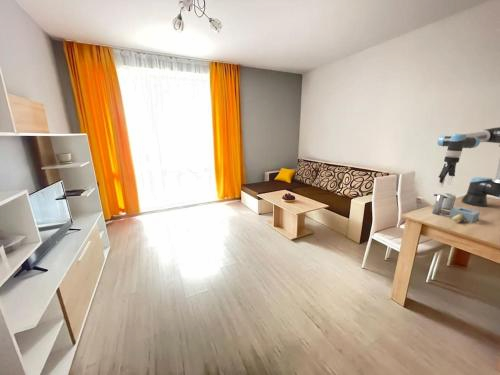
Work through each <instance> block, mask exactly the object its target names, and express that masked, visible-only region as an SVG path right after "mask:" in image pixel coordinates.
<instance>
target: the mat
mask: <svg viewBox="0 0 500 375" xmlns="http://www.w3.org/2000/svg"><path fill="white" fill-rule="evenodd" d="M440 214H442V215H446V216H447V215H448V216H449V214H450V211H449V210H446V209H443V208H441V210H440Z"/></svg>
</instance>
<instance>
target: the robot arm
mask: <svg viewBox="0 0 500 375" xmlns="http://www.w3.org/2000/svg"><path fill="white" fill-rule="evenodd" d="M480 143H490V144H491V143H493V144H499V148H500V126H499V127H490V128H486V129H481V130H480V129H479V130H478V131H475V132H469V133H454V134H451V135H445V136H444V135H441V136H440V137H438V139H437V145H438V146H439V147H447V149H446V151H445V157H444V160H443V161H444V162H445V163H444V164H443V168H442V169H441V171H440V173H439V175H438V178H439V181H438V183H437V187H439V188H443V187H444V184H445V185H448V186H451V185H452V184H451V183H452V180H453V177H456V176H455V175H456V167H457V164H458V163H459V162H460V159H461V157H462V156H461V155H462V152H463V149H474V148H477V147H478V146H479V145H480ZM447 174H448V175H447ZM445 180H446V181H445ZM488 195H489V196H493V197H496V198H499V199H500V158H499V160H498V165H497V169H496V174H495V178H490V177H472V179H470V182H469V185H468V189H467V192H466V193H465V195H464V196H463V197H462V198H461V202H462V203H464V204H467V205H469V206H470V205H471V206H476V207H487V205H488V199H487V196H488Z"/></svg>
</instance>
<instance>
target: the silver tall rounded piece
mask: <svg viewBox="0 0 500 375" xmlns="http://www.w3.org/2000/svg"><path fill="white" fill-rule="evenodd" d="M444 195H445V194H440V193H438V194H437V193H433V197H436V199H435V202H434V206H433V210H432V215H437V216H439V215H440V214H441V213H440V210H441V209H442V208H441V207H442V204H443V200H444V198H447V196H444Z"/></svg>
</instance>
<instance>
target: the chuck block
mask: <svg viewBox="0 0 500 375" xmlns="http://www.w3.org/2000/svg"><path fill="white" fill-rule="evenodd" d="M449 212H450V214H448V217H449V218H452V220H453V221H454V222H455V221H456V222H458V221H459V220H460V221H462V222H466V223H471V224H472V223H474V222H475V221H477V220H479V217H480V214H481V211H478V210H475V209H470V208H466V207H462V206H457V205H456V206H455V207H453V208H452V209H450V211H449Z"/></svg>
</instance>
